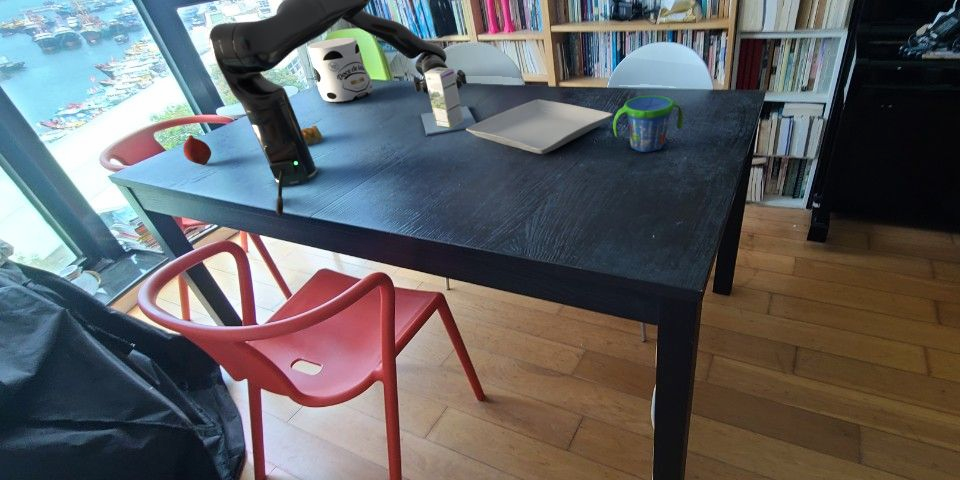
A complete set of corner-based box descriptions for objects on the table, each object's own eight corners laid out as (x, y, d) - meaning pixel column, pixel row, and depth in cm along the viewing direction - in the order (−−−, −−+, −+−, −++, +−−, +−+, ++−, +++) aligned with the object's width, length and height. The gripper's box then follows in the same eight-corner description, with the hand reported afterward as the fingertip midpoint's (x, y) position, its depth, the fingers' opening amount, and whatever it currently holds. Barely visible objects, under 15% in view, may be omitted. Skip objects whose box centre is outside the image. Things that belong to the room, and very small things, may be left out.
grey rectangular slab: (477, 126, 132) (477, 124, 131) (426, 135, 129) (426, 133, 129) (467, 107, 146) (467, 105, 145) (421, 116, 143) (420, 114, 143)
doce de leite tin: (366, 105, 157) (349, 46, 147) (315, 109, 158) (294, 51, 148) (381, 89, 171) (366, 35, 160) (334, 93, 172) (316, 39, 161)
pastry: (291, 151, 129) (286, 137, 126) (284, 145, 133) (279, 132, 131) (326, 140, 133) (321, 127, 131) (318, 135, 137) (313, 122, 135)
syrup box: (464, 121, 134) (454, 67, 125) (450, 129, 130) (439, 73, 121) (449, 119, 137) (438, 66, 128) (435, 126, 133) (423, 72, 124)
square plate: (614, 126, 123) (615, 111, 120) (543, 165, 108) (541, 148, 105) (538, 109, 139) (536, 96, 136) (466, 141, 123) (463, 126, 121)
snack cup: (615, 158, 107) (616, 113, 101) (610, 140, 116) (610, 98, 109) (686, 153, 106) (691, 107, 100) (675, 135, 115) (679, 92, 109)
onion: (199, 171, 123) (182, 141, 118) (187, 167, 126) (171, 138, 121) (221, 162, 127) (205, 132, 122) (209, 158, 129) (194, 130, 125)
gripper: (408, 63, 137) (412, 77, 124) (457, 55, 140) (466, 68, 127) (415, 90, 142) (419, 106, 129) (462, 82, 144) (471, 97, 131)
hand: (442, 87), depth 128 cm, fingers open, 8 cm apart
